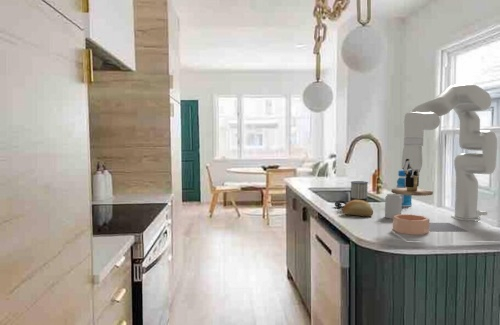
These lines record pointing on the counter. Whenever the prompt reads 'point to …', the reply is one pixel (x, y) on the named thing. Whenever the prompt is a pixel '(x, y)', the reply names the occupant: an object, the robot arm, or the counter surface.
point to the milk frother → (356, 192)
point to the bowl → (410, 224)
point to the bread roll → (358, 208)
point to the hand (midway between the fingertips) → (412, 186)
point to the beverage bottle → (401, 184)
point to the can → (393, 205)
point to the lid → (412, 190)
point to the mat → (445, 227)
